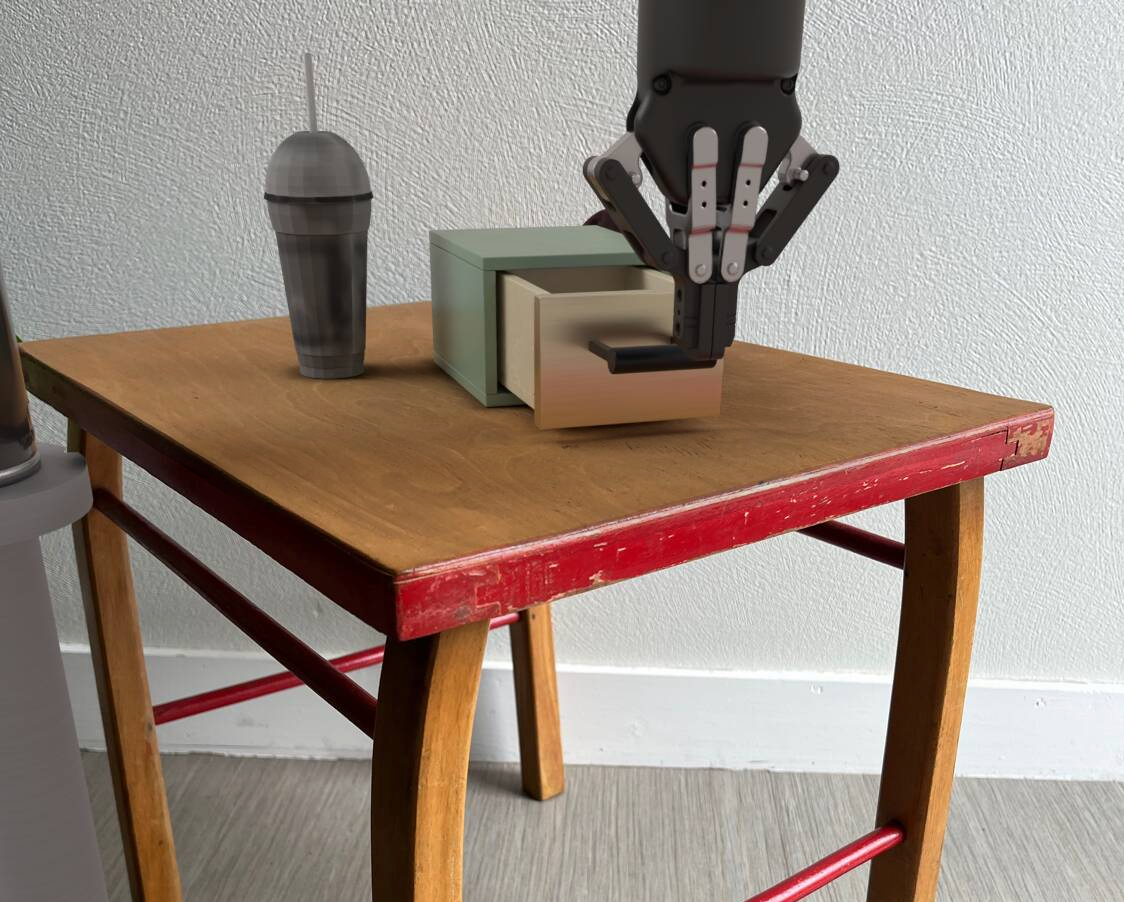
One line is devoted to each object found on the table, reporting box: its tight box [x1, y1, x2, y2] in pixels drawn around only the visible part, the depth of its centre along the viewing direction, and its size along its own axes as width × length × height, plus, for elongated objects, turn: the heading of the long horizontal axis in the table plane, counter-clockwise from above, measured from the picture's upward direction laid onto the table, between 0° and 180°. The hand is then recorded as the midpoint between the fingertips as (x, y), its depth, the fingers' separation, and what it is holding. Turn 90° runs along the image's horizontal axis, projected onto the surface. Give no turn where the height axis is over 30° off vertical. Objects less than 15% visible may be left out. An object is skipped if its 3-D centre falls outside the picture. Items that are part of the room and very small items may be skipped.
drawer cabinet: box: [428, 225, 672, 408], centre depth 88 cm, size 15×13×9 cm
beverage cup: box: [263, 52, 374, 380], centre depth 87 cm, size 7×7×20 cm
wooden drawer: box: [495, 265, 725, 431], centre depth 78 cm, size 18×11×7 cm, turn 18°
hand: (701, 357), depth 66 cm, fingers closed
